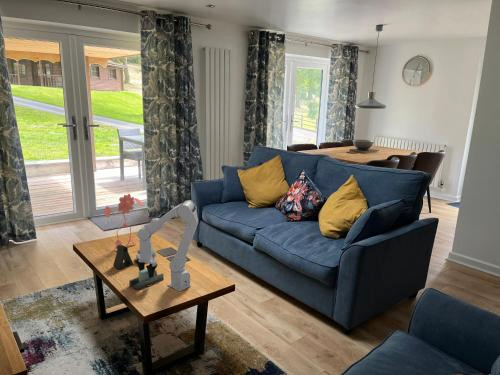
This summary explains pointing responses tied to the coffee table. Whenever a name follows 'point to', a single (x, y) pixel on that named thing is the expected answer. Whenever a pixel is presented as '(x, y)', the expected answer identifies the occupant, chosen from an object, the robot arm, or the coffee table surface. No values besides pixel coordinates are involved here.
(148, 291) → the coffee table surface
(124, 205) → the figurine
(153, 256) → the air freshener
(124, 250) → the phone stand
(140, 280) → the door panel
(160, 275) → the floor track
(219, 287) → the coffee table surface
